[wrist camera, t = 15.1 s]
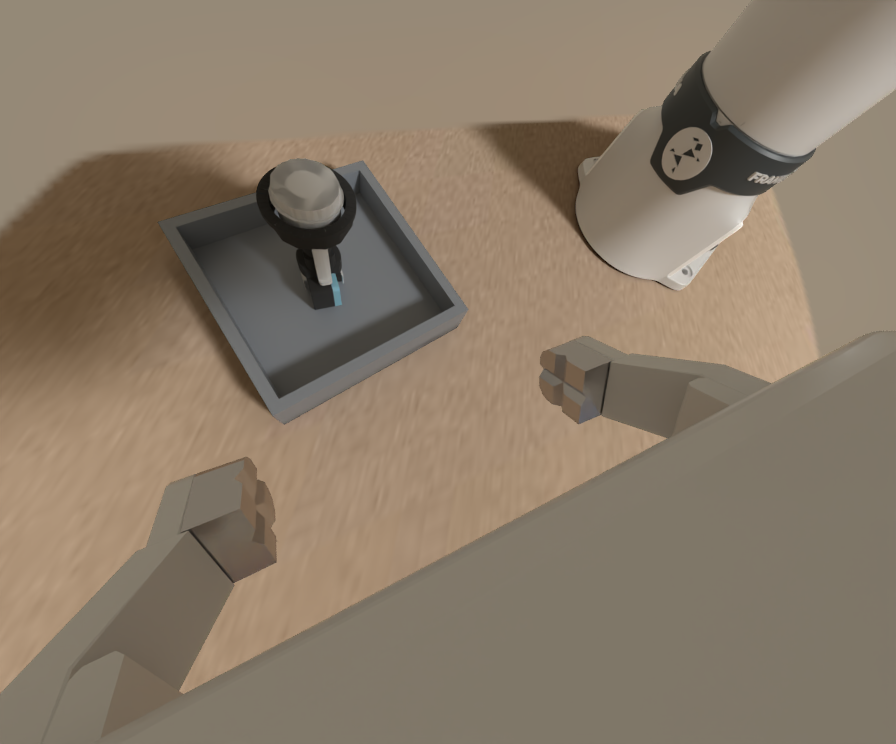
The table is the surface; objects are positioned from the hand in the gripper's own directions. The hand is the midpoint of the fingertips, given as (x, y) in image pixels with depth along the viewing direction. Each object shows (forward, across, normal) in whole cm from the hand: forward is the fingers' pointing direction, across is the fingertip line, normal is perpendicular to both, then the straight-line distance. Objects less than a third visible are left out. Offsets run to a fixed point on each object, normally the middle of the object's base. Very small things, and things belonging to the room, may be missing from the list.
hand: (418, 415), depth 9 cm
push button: (+23, 0, +1) cm, 23 cm away
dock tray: (+23, 0, +3) cm, 23 cm away
